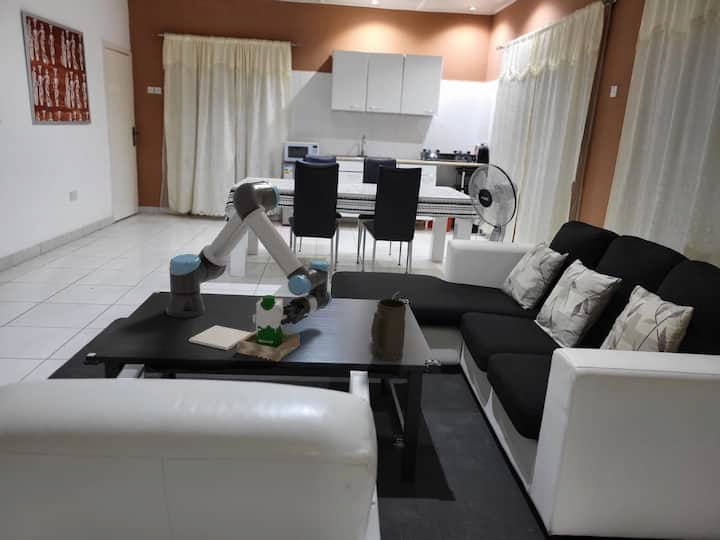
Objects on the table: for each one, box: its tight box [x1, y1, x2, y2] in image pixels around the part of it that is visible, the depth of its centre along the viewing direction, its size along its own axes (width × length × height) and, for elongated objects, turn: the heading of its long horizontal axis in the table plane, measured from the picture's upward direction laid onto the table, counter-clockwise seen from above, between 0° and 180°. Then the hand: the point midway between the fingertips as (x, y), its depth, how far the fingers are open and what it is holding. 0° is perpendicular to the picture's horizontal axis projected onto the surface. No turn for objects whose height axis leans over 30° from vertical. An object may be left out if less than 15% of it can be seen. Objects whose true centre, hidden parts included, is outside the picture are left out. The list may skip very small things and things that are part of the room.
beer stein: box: [370, 298, 407, 361], centre depth 183 cm, size 15×11×20 cm
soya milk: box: [255, 294, 284, 348], centre depth 183 cm, size 9×9×20 cm
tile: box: [188, 324, 252, 351], centre depth 192 cm, size 16×16×1 cm
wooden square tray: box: [236, 330, 301, 362], centre depth 185 cm, size 16×16×4 cm
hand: (263, 321), depth 181 cm, fingers closed on soya milk, 8 cm apart
